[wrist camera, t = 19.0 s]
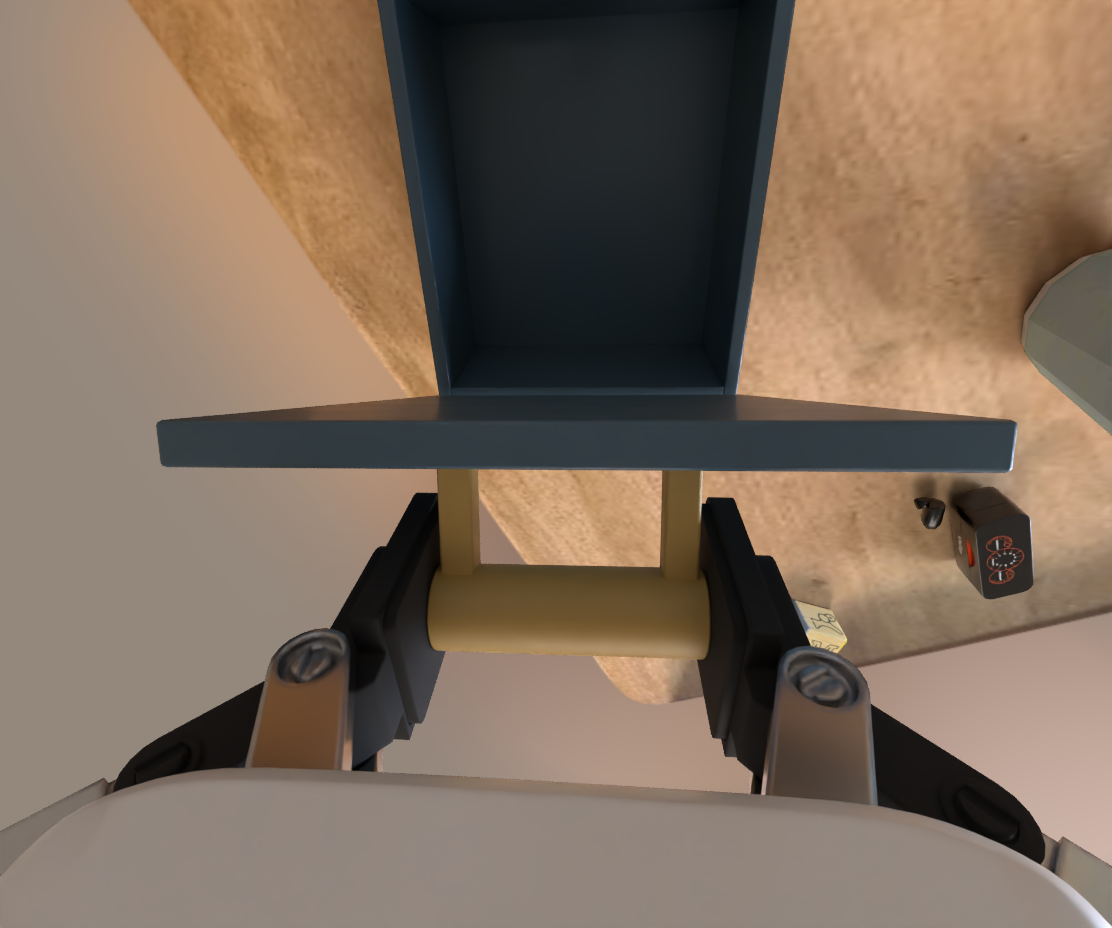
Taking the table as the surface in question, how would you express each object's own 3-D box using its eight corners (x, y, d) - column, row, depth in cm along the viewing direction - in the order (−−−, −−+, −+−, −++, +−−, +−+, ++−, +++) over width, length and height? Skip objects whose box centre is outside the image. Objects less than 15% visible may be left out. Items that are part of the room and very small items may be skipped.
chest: (427, 11, 23) (371, -32, 17) (752, -8, 22) (805, -61, 16) (468, 353, 31) (439, 400, 25) (710, 350, 30) (736, 399, 24)
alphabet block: (793, 597, 39) (807, 630, 36) (832, 608, 39) (849, 642, 36) (772, 625, 40) (784, 658, 38) (809, 635, 40) (824, 669, 38)
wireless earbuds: (992, 469, 32) (1029, 500, 30) (999, 554, 35) (1034, 589, 33) (909, 494, 34) (937, 526, 31) (923, 574, 37) (949, 609, 34)
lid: (152, 420, 9) (185, 697, 10) (1021, 420, 8) (982, 730, 9) (436, 395, 25) (440, 501, 25) (738, 394, 24) (733, 505, 24)
